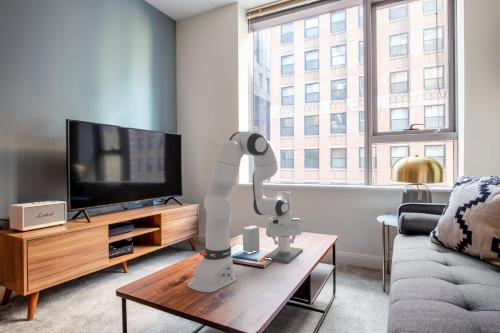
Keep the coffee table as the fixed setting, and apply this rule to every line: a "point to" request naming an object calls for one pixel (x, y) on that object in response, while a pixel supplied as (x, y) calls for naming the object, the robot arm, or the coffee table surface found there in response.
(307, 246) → the coffee table surface
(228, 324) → the coffee table surface
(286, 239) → the white upright block
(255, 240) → the skincare box
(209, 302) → the coffee table surface
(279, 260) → the post base
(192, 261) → the coffee table surface
